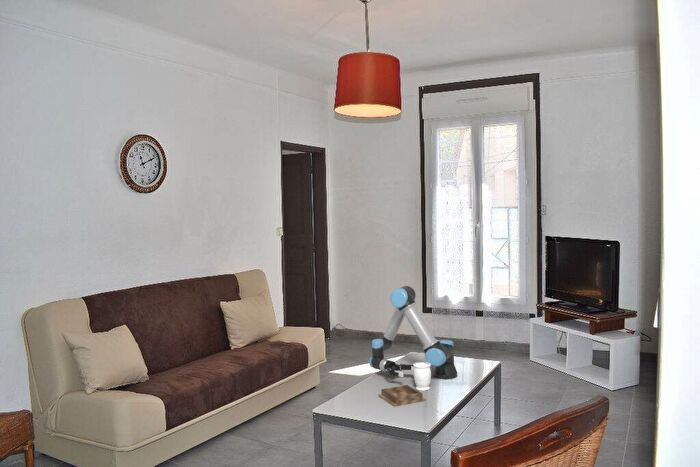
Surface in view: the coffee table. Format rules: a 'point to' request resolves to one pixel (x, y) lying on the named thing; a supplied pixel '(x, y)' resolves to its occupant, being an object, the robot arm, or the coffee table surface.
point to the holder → (401, 395)
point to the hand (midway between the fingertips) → (411, 372)
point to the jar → (422, 375)
